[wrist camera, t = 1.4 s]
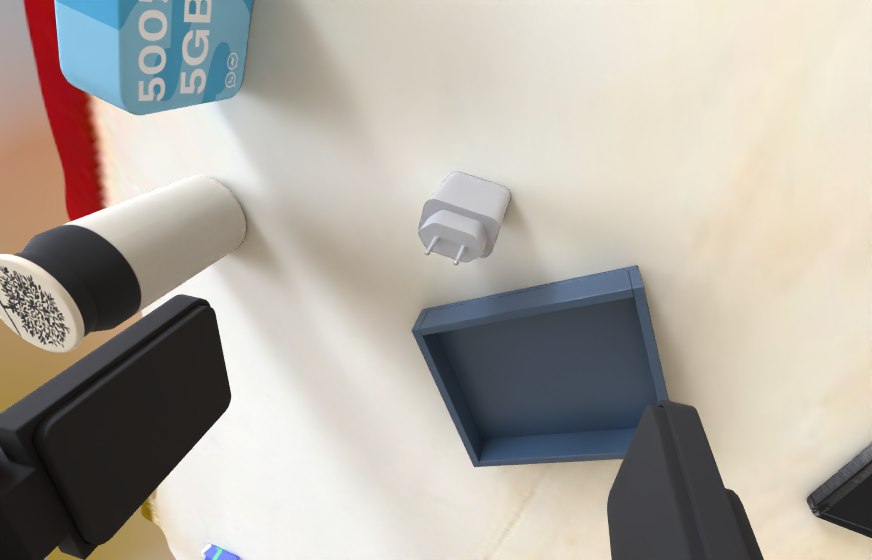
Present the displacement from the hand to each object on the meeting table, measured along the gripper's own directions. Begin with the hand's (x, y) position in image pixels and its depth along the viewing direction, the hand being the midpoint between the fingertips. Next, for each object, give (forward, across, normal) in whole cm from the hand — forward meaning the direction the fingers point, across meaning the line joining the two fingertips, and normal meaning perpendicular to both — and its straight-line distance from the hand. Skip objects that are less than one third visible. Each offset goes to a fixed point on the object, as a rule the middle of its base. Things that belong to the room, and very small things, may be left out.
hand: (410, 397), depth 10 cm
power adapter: (+29, +3, +5) cm, 30 cm away
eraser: (+30, +39, +76) cm, 91 cm away
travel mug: (+29, +29, +11) cm, 42 cm away
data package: (+29, +24, -7) cm, 38 cm away
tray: (+29, -6, +21) cm, 36 cm away
